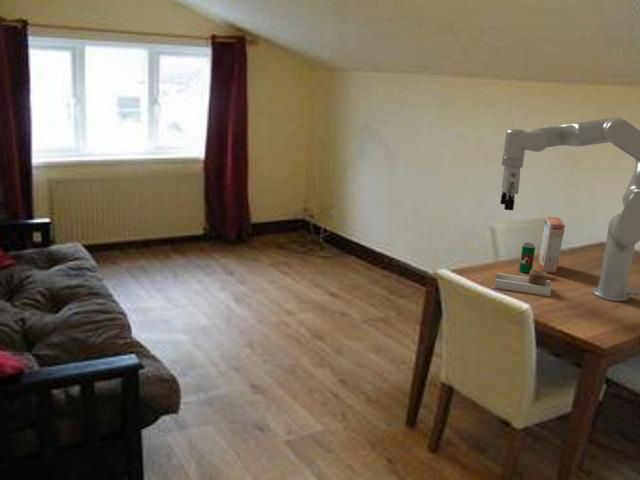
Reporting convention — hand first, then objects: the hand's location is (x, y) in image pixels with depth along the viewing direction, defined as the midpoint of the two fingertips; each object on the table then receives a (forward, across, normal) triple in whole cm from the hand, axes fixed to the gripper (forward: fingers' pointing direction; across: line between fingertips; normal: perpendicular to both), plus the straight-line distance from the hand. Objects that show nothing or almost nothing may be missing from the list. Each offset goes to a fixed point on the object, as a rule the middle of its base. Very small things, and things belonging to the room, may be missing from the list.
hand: (506, 207), depth 236 cm
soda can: (+30, +14, -13) cm, 35 cm away
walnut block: (+29, -9, -13) cm, 33 cm away
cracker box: (+30, +22, -24) cm, 44 cm away
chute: (+29, -8, -8) cm, 32 cm away
